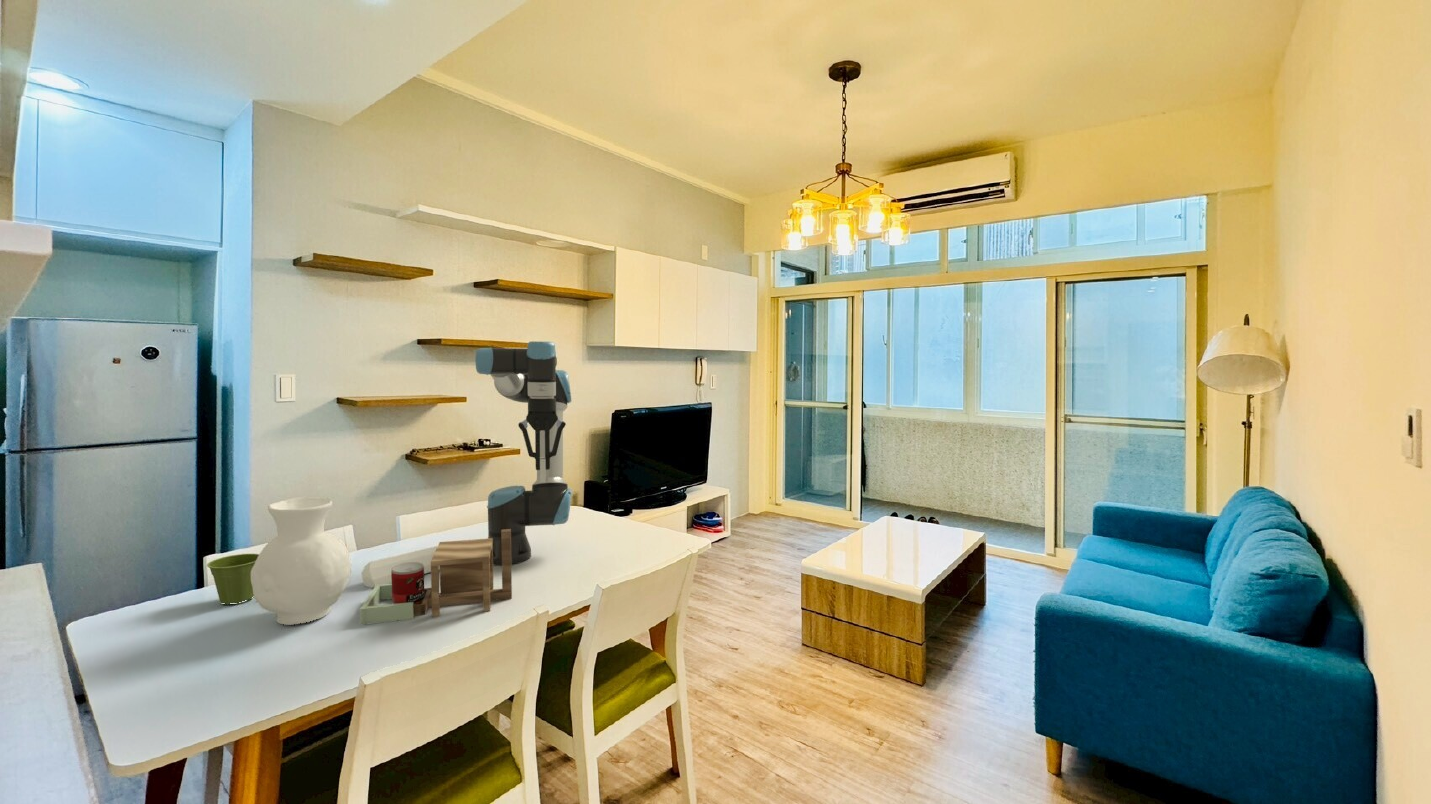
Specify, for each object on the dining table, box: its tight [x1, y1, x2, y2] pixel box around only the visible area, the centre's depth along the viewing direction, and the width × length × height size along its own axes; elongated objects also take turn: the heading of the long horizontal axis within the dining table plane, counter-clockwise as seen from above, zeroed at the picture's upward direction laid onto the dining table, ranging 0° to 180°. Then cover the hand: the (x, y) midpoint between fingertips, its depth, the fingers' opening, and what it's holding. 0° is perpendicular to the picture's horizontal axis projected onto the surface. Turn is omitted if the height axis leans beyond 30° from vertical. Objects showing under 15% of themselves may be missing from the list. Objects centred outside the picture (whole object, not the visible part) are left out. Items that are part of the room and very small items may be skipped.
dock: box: [359, 583, 415, 625], centre depth 161 cm, size 16×12×4 cm
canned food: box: [391, 562, 425, 605], centre depth 162 cm, size 8×8×11 cm
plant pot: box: [206, 553, 260, 605], centre depth 165 cm, size 12×12×11 cm
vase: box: [251, 496, 352, 626], centre depth 154 cm, size 19×21×30 cm
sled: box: [413, 529, 513, 616], centre depth 165 cm, size 12×30×19 cm, turn 107°
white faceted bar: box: [361, 545, 440, 589], centre depth 185 cm, size 7×7×24 cm
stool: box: [430, 537, 494, 618], centre depth 166 cm, size 16×14×15 cm
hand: (542, 481), depth 170 cm, fingers closed
